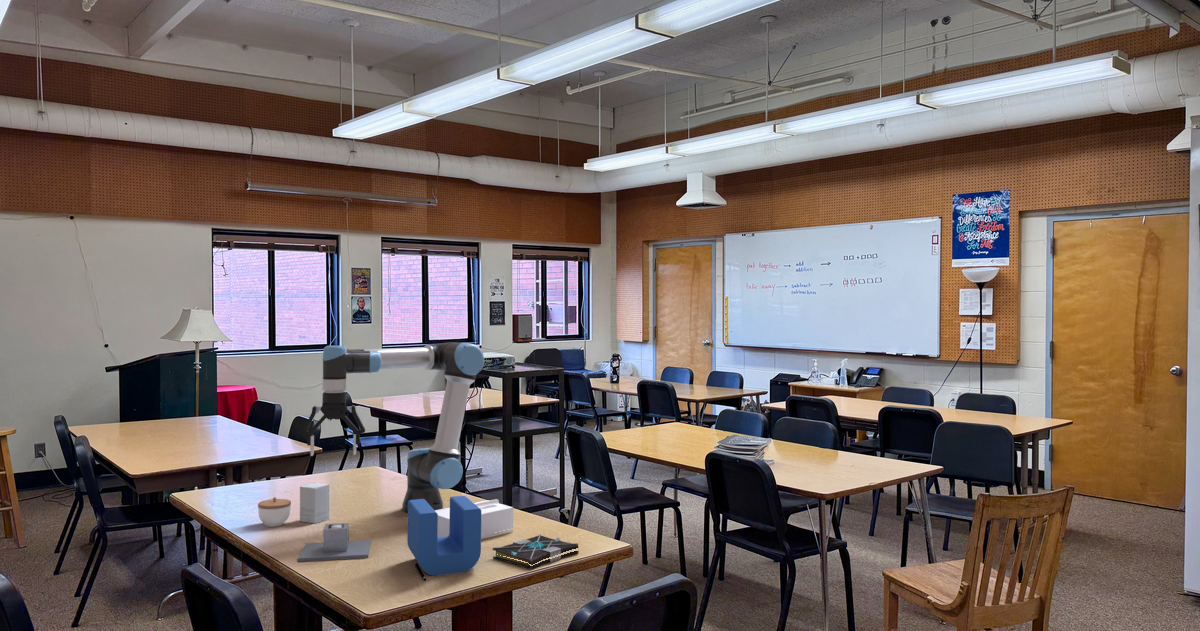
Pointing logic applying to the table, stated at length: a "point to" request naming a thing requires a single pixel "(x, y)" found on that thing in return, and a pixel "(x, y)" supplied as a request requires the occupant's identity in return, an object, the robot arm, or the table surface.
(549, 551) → the book
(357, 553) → the plate
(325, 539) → the block
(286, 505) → the lidded jar
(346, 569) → the table surface
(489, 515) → the tissue box
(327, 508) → the supplement box
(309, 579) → the table surface
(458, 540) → the block
